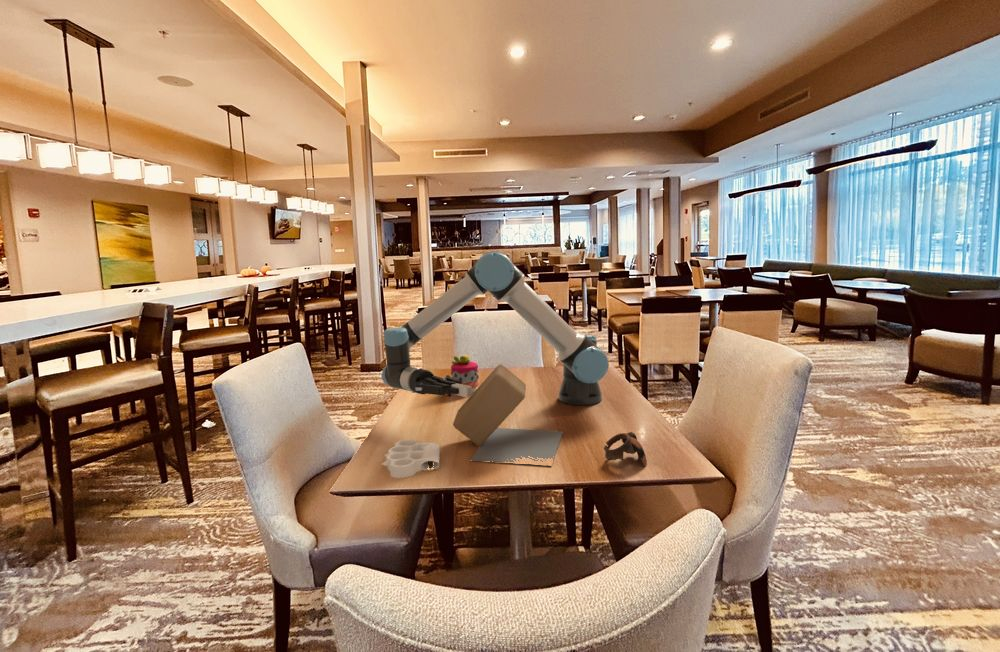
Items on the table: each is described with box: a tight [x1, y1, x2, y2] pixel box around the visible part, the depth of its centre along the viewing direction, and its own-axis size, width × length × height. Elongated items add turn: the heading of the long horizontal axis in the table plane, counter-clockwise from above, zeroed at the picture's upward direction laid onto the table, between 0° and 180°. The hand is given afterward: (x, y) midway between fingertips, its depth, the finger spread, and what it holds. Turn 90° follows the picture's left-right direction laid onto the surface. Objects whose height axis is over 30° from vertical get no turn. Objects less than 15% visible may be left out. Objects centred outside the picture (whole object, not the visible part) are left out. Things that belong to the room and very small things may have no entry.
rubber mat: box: [470, 427, 564, 462], centre depth 139 cm, size 21×24×1 cm
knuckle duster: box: [380, 438, 441, 479], centre depth 131 cm, size 3×18×15 cm
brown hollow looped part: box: [603, 431, 648, 468], centre depth 127 cm, size 12×10×8 cm
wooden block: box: [452, 364, 527, 447], centre depth 141 cm, size 10×10×20 cm
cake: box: [450, 354, 480, 393], centre depth 194 cm, size 10×11×15 cm
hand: (469, 392), depth 140 cm, fingers closed
